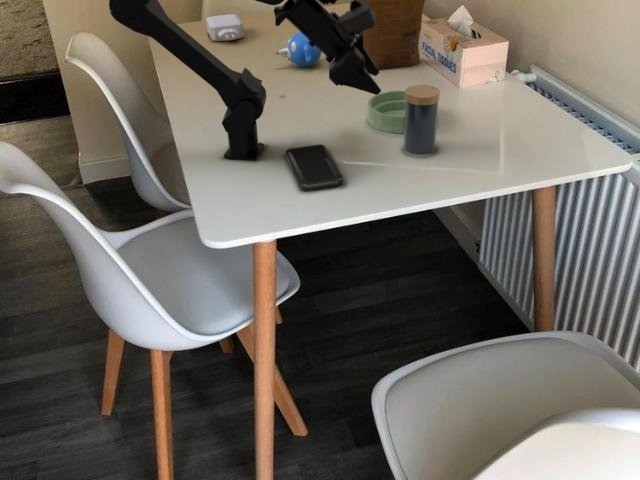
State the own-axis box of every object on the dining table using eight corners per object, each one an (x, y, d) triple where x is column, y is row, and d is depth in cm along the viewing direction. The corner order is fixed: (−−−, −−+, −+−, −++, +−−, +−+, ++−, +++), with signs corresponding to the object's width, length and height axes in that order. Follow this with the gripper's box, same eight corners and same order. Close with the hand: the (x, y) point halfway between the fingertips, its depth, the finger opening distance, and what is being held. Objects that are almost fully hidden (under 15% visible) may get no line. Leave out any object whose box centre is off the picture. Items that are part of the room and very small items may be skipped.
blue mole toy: (271, 61, 174) (268, 29, 170) (315, 56, 177) (314, 24, 172) (281, 77, 165) (279, 43, 160) (327, 71, 167) (326, 37, 162)
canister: (426, 160, 125) (429, 100, 119) (396, 152, 129) (398, 93, 122) (441, 147, 130) (445, 88, 123) (412, 140, 133) (415, 82, 126)
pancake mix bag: (431, 66, 167) (438, -54, 152) (357, 74, 164) (356, -48, 149) (422, 58, 173) (428, -59, 157) (350, 65, 170) (349, -53, 154)
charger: (215, 48, 185) (207, 33, 197) (248, 44, 187) (238, 29, 199) (213, 31, 182) (205, 16, 194) (246, 27, 184) (237, 13, 196)
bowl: (432, 138, 133) (433, 118, 131) (362, 134, 136) (362, 114, 134) (437, 110, 145) (438, 92, 142) (372, 107, 147) (373, 89, 145)
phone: (301, 186, 116) (284, 149, 129) (301, 191, 117) (284, 154, 129) (344, 179, 118) (324, 143, 130) (344, 185, 118) (324, 148, 131)
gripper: (348, 3, 105) (415, 70, 111) (348, -25, 121) (407, 35, 126) (300, 53, 110) (367, 115, 116) (306, 20, 125) (365, 76, 131)
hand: (378, 83), depth 122 cm, fingers open, 9 cm apart
